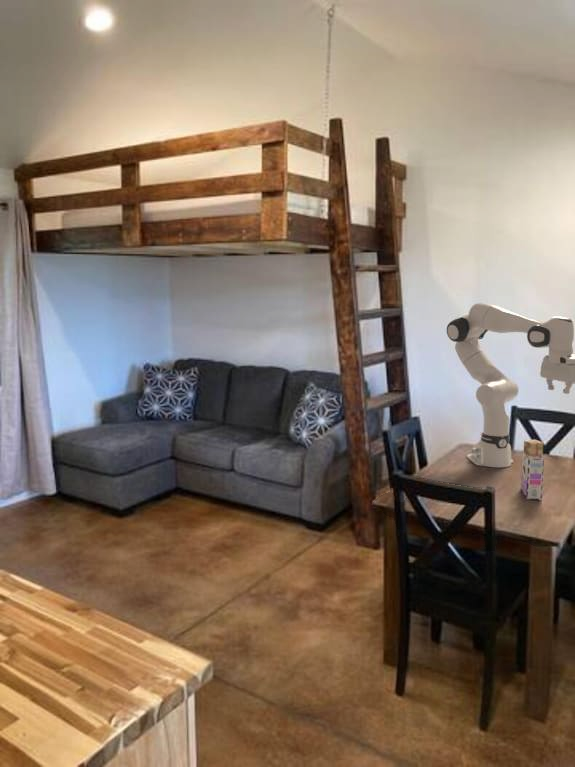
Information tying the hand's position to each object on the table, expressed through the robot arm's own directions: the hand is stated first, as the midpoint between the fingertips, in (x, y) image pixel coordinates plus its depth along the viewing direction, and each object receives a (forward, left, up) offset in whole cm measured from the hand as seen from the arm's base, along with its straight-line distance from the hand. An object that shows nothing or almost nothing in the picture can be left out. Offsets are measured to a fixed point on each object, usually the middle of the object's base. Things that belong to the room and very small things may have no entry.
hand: (558, 391), depth 251 cm
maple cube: (+8, -16, -23) cm, 29 cm away
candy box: (+8, -16, -39) cm, 43 cm away
